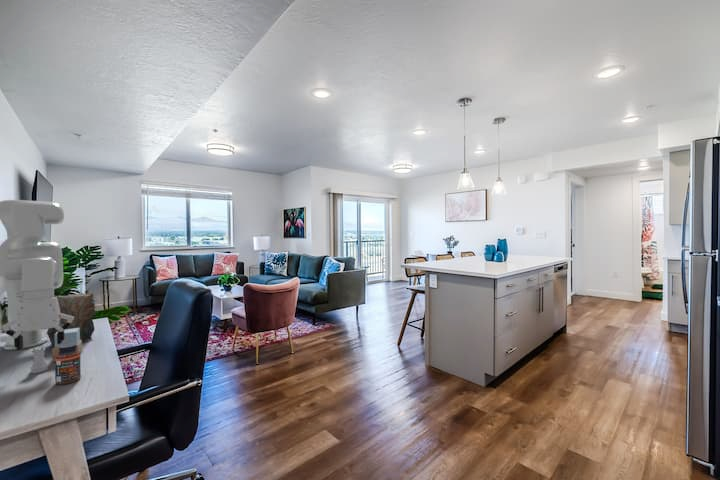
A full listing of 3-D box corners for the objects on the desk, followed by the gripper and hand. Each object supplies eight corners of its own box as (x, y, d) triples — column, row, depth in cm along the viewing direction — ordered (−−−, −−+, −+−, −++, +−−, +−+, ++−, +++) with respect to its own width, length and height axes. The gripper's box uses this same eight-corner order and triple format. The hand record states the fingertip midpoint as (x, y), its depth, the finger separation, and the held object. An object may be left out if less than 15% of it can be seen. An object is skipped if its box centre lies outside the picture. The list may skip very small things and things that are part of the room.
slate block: (54, 348, 114) (54, 334, 114) (58, 343, 120) (58, 330, 119) (77, 345, 118) (76, 331, 118) (80, 340, 123) (79, 327, 123)
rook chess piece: (27, 375, 104) (26, 350, 104) (33, 369, 108) (32, 346, 108) (45, 372, 106) (44, 348, 106) (51, 367, 110) (50, 344, 110)
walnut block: (52, 362, 114) (52, 349, 114) (57, 356, 120) (57, 343, 120) (78, 358, 118) (78, 345, 118) (82, 352, 124) (81, 339, 124)
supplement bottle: (59, 387, 95) (57, 350, 95) (52, 382, 99) (51, 346, 98) (84, 379, 100) (83, 344, 100) (77, 375, 104) (76, 340, 103)
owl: (45, 345, 131) (43, 297, 131) (77, 335, 144) (75, 291, 143) (71, 347, 129) (69, 298, 129) (101, 337, 142) (100, 292, 141)
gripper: (-4, 300, 98) (-2, 355, 99) (70, 293, 108) (72, 343, 108) (5, 296, 105) (7, 348, 105) (75, 290, 114) (77, 338, 114)
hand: (40, 345), depth 106 cm, fingers open, 9 cm apart
